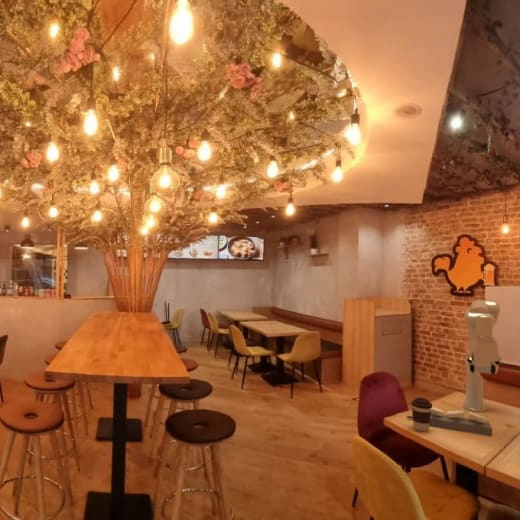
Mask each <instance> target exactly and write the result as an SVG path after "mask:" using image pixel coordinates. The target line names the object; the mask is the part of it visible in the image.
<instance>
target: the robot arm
mask: <svg viewBox="0 0 520 520" xmlns="http://www.w3.org/2000/svg"><path fill="white" fill-rule="evenodd" d="M500 310H501V309H500V304H499V303H498V302H497V301H494V300H486V299H485V300H483V299H482V300H480V299H477V300H474V301H473V302H472V303H471V304H470V308H467V309H465V310H464V316H463V318H464V319H463V320H464V323H465V325H466V326H467V330H468V340H467V341H468V342H467V344H468V346H467V347H468V351H469V353H467V354H465V355H464V357H465V360H464V363H465V371H466V372H465V375H466V377H465V383H466V384H465V403H462V408H463V409H465V410H467V411H470V412H477V413H478V412H479V413H483V412H486V411H487V408H486V407H485V406H484V394H485V393H484V392H485V390H484V389H485V388H484V387H485V381H484V380H485V379H484V378H483V376H482V375H481V374H490V375H496V374H498V371H499V364H500V363H501V361H502V359H503V358H502V357H500V356H499V344H498V341H497V340H496V338H495V337H494V336H493V328H494V326H496V323H498V319H499V315H500ZM480 373H481V374H480Z"/></svg>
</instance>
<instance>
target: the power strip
mask: <svg viewBox="0 0 520 520" xmlns="http://www.w3.org/2000/svg"><path fill="white" fill-rule="evenodd" d="M406 418H407V419H410V420H411V419H412V420H413V416H411V415H407V416H406ZM429 427H435V428H439V429H445V430H452V431H456V432H457V431H458V432H464V433H469V434H476V435H480V436H487V437H492V436H493V428H492V425H491V424H490V422H489V421H487V420H486V424H484V423H482V422H479V421H476V420H474V419H471V418H469V417H456V418H448V414H443V417H441V416H439V415H436V414H433V413H431V415H430V423H429Z"/></svg>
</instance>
